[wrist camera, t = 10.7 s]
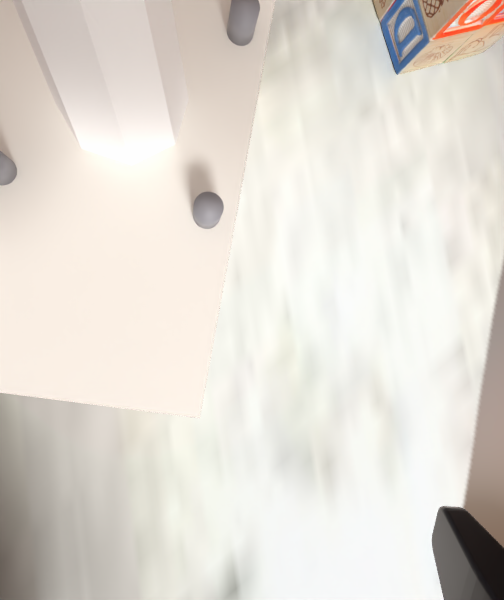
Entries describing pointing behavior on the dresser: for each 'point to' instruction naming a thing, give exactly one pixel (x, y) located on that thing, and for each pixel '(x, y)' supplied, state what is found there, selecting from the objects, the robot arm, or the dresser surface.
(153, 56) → the pepper shaker
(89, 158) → the cream board with pegs
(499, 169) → the dresser surface
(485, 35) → the stack of blocks
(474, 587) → the robot arm
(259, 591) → the dresser surface
